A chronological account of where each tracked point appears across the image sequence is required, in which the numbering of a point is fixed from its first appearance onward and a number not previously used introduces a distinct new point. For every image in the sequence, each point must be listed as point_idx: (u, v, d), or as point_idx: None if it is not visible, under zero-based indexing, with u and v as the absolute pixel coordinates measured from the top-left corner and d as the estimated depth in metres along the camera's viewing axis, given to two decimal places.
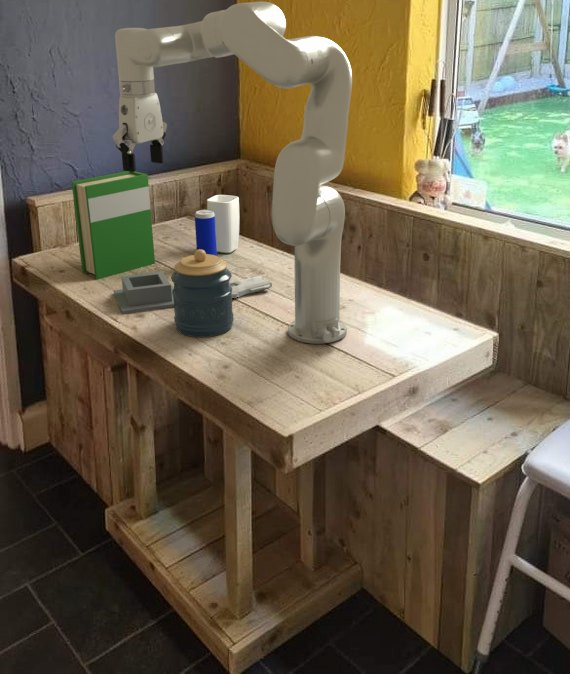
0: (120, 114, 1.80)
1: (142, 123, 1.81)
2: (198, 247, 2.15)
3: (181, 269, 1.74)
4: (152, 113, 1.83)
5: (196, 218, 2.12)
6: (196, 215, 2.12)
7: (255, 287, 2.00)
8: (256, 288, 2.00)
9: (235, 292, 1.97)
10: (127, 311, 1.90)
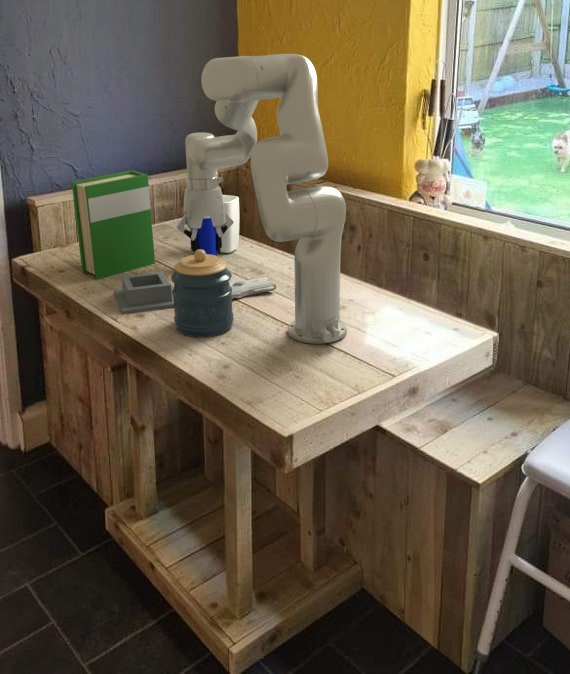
0: None
1: None
2: (198, 247, 2.15)
3: (181, 269, 1.74)
4: None
5: None
6: None
7: (258, 288, 1.99)
8: (259, 289, 1.99)
9: (237, 293, 1.97)
10: (127, 311, 1.90)
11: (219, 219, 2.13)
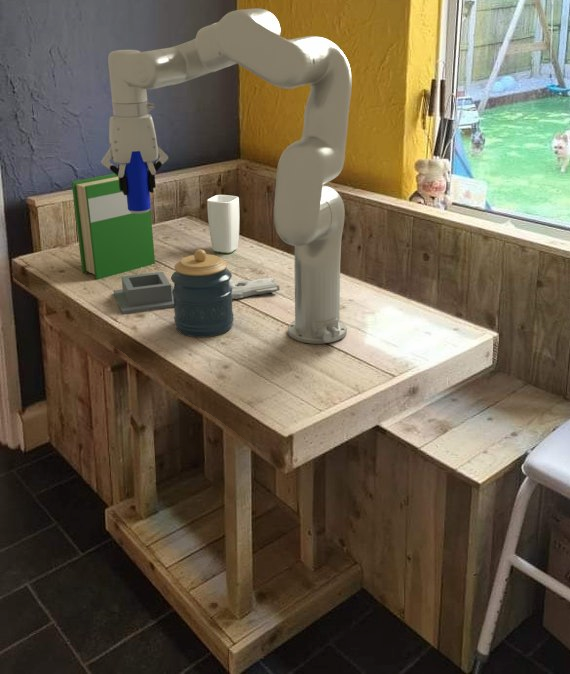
0: None
1: None
2: (127, 186, 1.85)
3: (181, 269, 1.74)
4: None
5: None
6: None
7: (261, 289, 1.99)
8: (262, 290, 1.99)
9: (239, 293, 1.97)
10: (127, 311, 1.90)
11: (151, 153, 1.83)
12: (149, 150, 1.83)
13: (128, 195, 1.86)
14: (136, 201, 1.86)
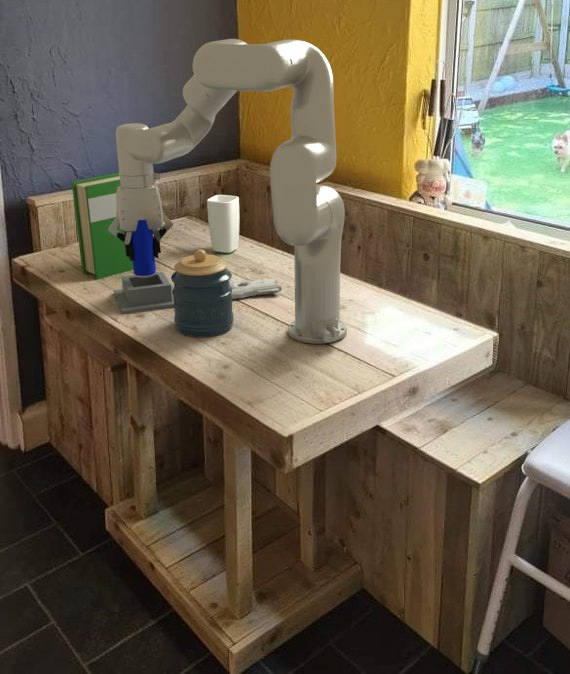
0: (160, 201, 1.89)
1: None
2: (133, 252, 1.92)
3: (181, 269, 1.74)
4: None
5: None
6: None
7: (263, 289, 1.98)
8: (263, 290, 1.98)
9: (241, 293, 1.97)
10: (127, 311, 1.90)
11: (156, 221, 1.90)
12: (155, 218, 1.89)
13: (134, 260, 1.93)
14: (142, 266, 1.92)
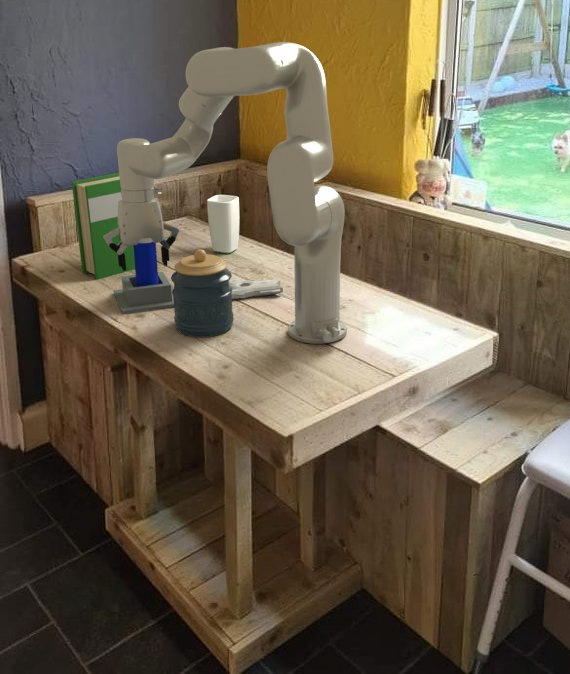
0: (161, 215, 1.90)
1: None
2: (137, 274, 1.94)
3: (181, 269, 1.74)
4: None
5: None
6: None
7: (264, 290, 1.98)
8: (265, 291, 1.98)
9: (242, 293, 1.97)
10: (127, 311, 1.90)
11: (158, 235, 1.91)
12: (156, 232, 1.90)
13: (138, 282, 1.95)
14: None
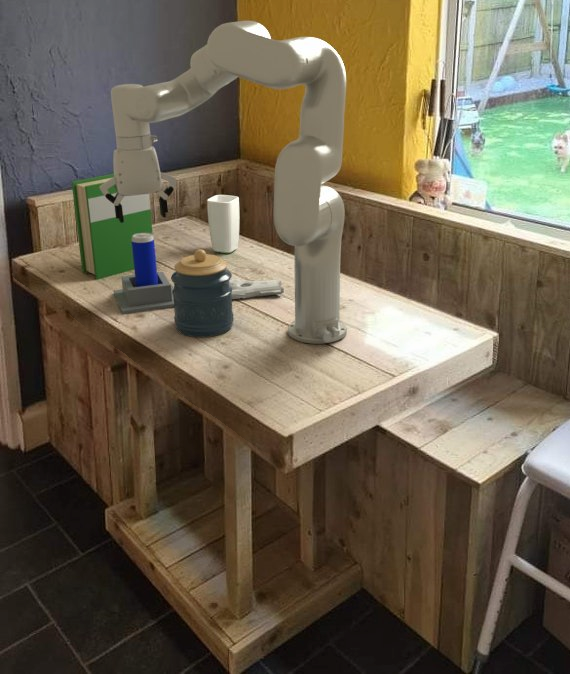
0: (158, 164, 1.85)
1: None
2: (136, 274, 1.94)
3: (181, 269, 1.74)
4: None
5: (133, 242, 1.91)
6: (133, 239, 1.91)
7: (265, 290, 1.98)
8: (265, 291, 1.98)
9: (242, 293, 1.97)
10: (127, 311, 1.90)
11: (155, 185, 1.86)
12: (153, 181, 1.85)
13: (137, 282, 1.95)
14: None
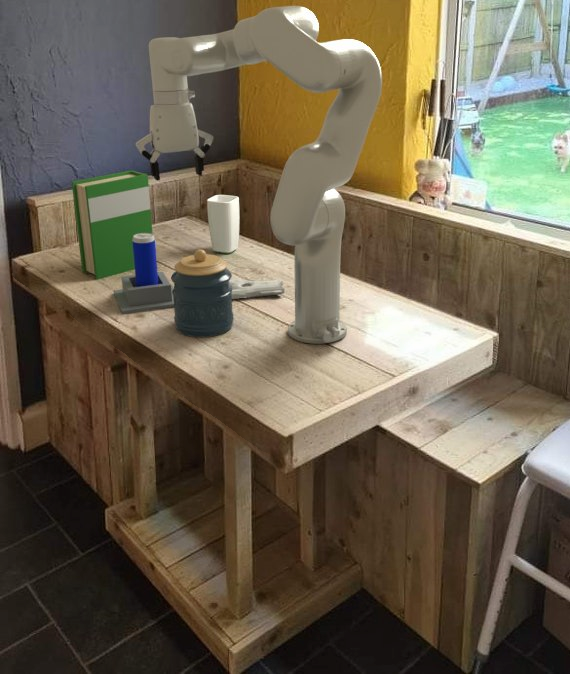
0: (195, 120, 1.82)
1: None
2: (137, 274, 1.94)
3: (181, 269, 1.74)
4: None
5: (134, 242, 1.91)
6: (134, 239, 1.91)
7: (265, 290, 1.98)
8: (266, 292, 1.98)
9: (243, 293, 1.97)
10: (127, 311, 1.90)
11: (192, 141, 1.82)
12: (190, 138, 1.82)
13: (137, 283, 1.95)
14: None
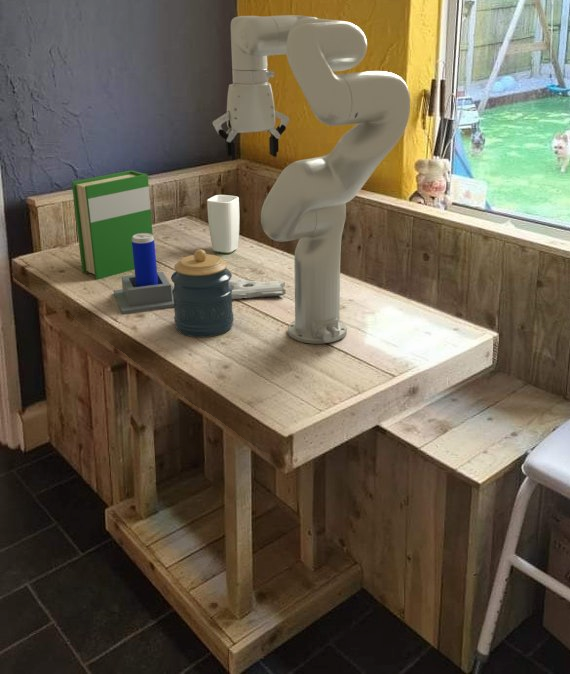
0: (273, 100, 1.81)
1: None
2: (136, 274, 1.94)
3: (181, 269, 1.74)
4: None
5: (133, 243, 1.91)
6: (133, 239, 1.91)
7: (266, 291, 1.97)
8: (267, 292, 1.97)
9: (244, 293, 1.97)
10: (127, 311, 1.90)
11: (269, 122, 1.81)
12: (267, 118, 1.81)
13: (137, 283, 1.95)
14: None
